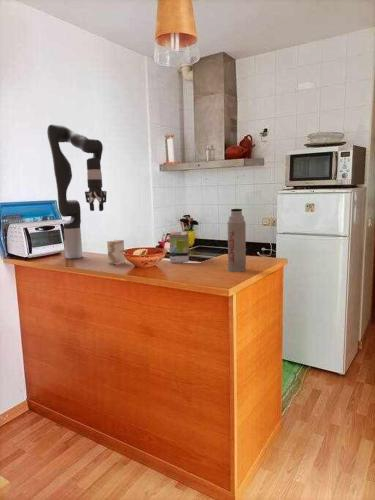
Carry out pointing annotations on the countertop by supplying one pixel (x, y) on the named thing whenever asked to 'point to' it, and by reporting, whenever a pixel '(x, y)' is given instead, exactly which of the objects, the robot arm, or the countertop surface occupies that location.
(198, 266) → the countertop surface
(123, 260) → the birch block
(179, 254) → the tea box
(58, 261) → the countertop surface
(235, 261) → the thermos bottle
